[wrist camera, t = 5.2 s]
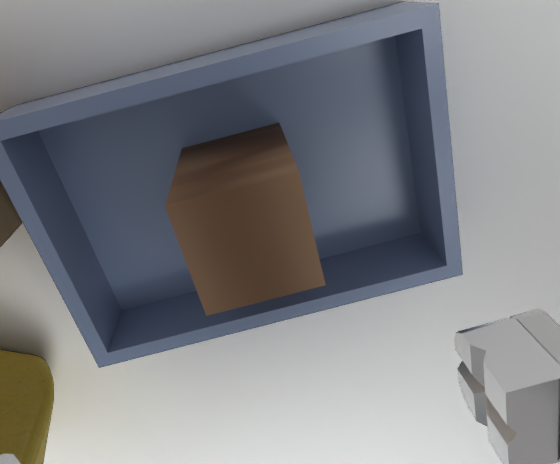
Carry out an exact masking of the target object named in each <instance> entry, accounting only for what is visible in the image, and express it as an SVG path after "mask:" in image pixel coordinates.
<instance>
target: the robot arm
mask: <svg viewBox="0 0 560 464" xmlns="http://www.w3.org/2000/svg"><path fill="white" fill-rule="evenodd" d="M455 350H456V351H457V353H458V354H459V356H460V357H461V359H462V360H463V361H462V362H461V364H460V365H459V367H458V369H457V370H458V377H459V384H460V387H461V390H462V393H463V397H464V399H465V401H466V403H467V405H468V408H469V410H470V411H471V413H472V415H473V416H474V418H475V420H476V421H478V422H480V423H482V424H483V425H485V426H487V427H488V438H489V442H490V444H491V446H492V447H493V449H494V450H495V452H496V454H497V455H498V457H499V458H500V460H501V462H502V463H503V464H553V463H557V462H560V326H559V325H558V324H557V323H556V322H555V321H554V320H553V319H552V318H551V317H550V316H549V315H548V314H547V313H546V312H544V311H543V310H540V309H535V310H532V311H528V312H525V313H521V314H518V315H514V316H511V317H510V318H505V319H501V320H498V321H494V322H491V323H487V324H483V325H480V326H476V327H473V328H469V329H465V330H462V331H458V332H456V334H455ZM0 464H21V463H20V462H19V461H18V459H17V458H16V457H15V456H14V454H1V455H0Z"/></svg>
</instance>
